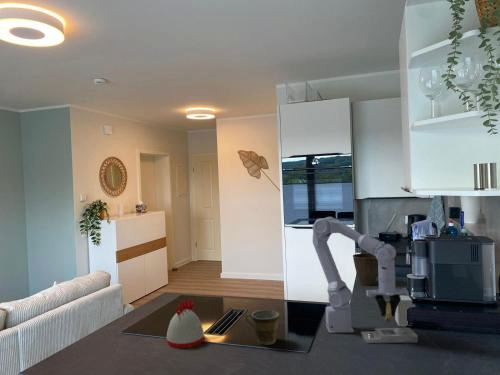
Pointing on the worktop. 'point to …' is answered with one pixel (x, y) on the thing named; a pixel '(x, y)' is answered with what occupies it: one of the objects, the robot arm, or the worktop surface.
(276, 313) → the ceramic cup
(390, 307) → the brass pin
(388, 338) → the notched mounting plate
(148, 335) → the worktop surface
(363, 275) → the plant pot
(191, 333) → the white red bobble hat
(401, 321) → the small box
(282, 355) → the worktop surface
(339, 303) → the robot arm
